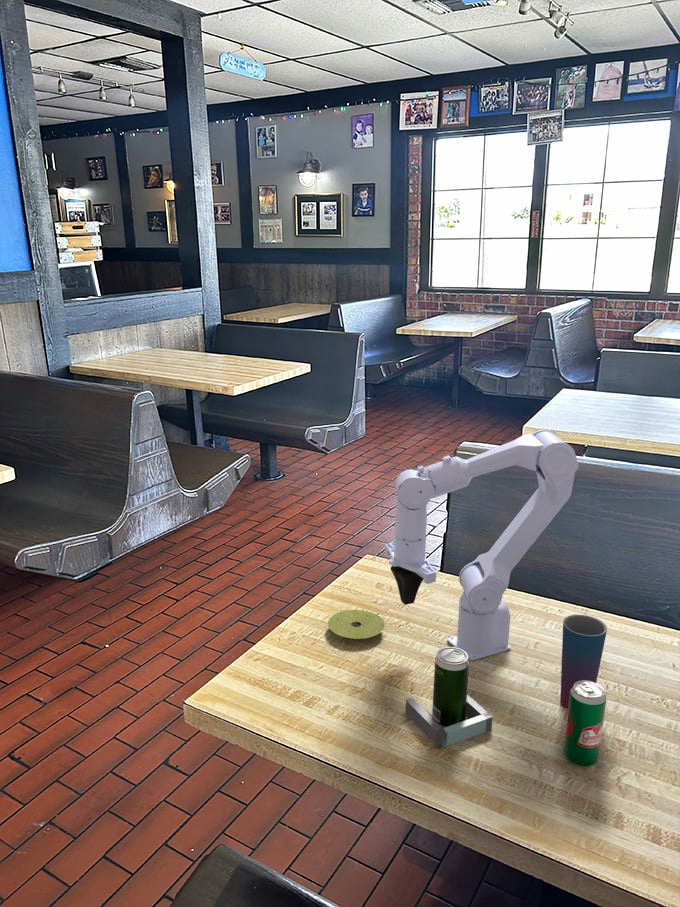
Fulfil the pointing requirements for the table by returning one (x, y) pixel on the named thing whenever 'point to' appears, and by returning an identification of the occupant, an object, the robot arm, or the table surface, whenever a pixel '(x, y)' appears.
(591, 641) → the cup
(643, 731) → the table surface
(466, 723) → the dock
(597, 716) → the soda can
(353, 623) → the green disc with hole
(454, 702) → the beer can
